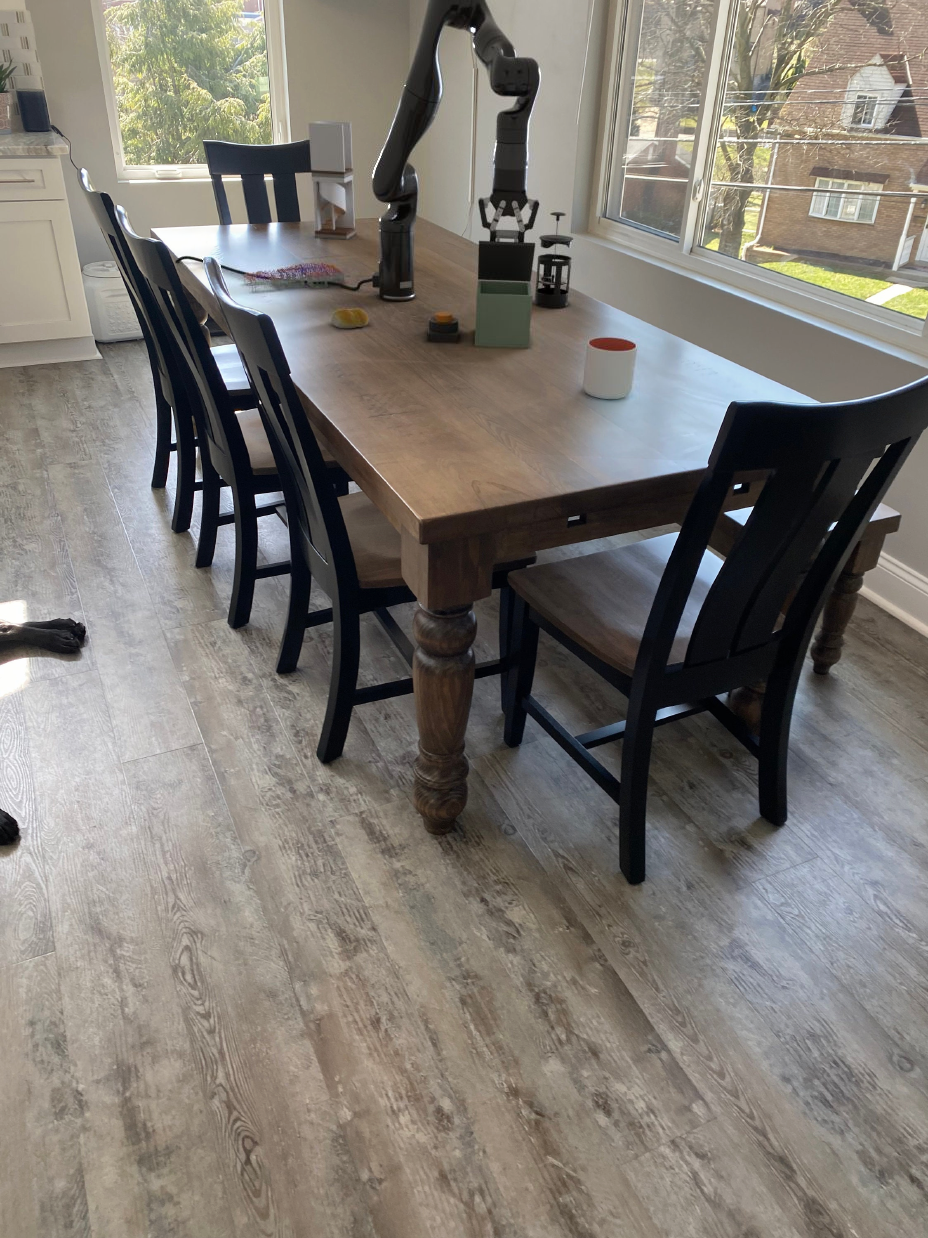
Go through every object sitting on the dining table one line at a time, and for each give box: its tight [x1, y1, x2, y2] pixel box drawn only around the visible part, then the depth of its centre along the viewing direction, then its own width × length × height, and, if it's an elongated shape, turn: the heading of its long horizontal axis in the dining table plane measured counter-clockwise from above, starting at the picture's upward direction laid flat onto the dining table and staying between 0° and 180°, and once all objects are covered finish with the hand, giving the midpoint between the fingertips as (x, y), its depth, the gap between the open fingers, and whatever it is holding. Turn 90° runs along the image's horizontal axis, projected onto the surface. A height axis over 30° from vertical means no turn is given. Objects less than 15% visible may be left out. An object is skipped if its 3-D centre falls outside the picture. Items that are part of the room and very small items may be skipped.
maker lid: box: [477, 229, 536, 283], centre depth 206 cm, size 14×13×5 cm
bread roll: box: [330, 307, 370, 329], centre depth 219 cm, size 8×9×4 cm
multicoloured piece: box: [243, 262, 351, 293], centre depth 251 cm, size 30×15×5 cm, turn 115°
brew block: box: [427, 315, 460, 344], centre depth 212 cm, size 10×7×4 cm
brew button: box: [434, 311, 453, 322], centre depth 211 cm, size 4×4×2 cm
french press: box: [533, 211, 574, 309], centre depth 237 cm, size 12×9×23 cm
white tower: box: [308, 120, 356, 240], centre depth 305 cm, size 11×11×35 cm
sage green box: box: [474, 279, 533, 349], centre depth 210 cm, size 14×13×12 cm
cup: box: [582, 336, 638, 400], centre depth 180 cm, size 10×10×10 cm
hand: (506, 248), depth 202 cm, fingers open, 5 cm apart
